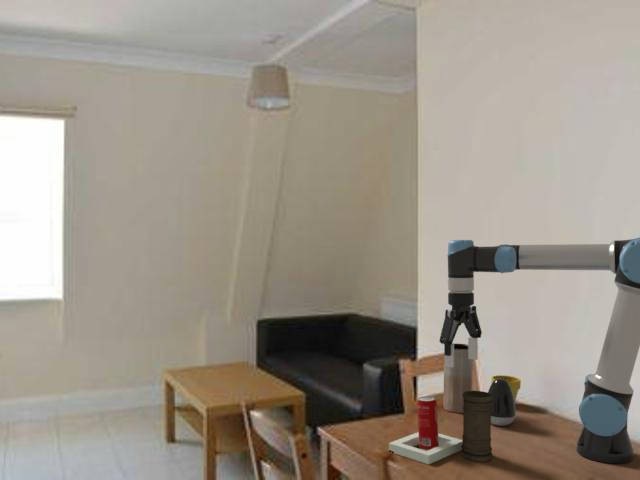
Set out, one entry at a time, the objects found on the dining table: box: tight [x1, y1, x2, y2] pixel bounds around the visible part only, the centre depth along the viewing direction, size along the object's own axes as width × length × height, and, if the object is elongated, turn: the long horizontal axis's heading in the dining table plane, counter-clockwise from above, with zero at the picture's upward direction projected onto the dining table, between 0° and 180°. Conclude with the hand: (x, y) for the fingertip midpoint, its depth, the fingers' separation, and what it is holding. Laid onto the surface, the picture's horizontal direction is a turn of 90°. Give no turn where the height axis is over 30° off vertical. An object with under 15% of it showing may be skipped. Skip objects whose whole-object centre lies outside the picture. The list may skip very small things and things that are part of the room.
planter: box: [442, 343, 474, 414], centre depth 237 cm, size 10×10×23 cm
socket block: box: [388, 431, 463, 465], centre depth 195 cm, size 14×18×3 cm
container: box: [460, 390, 493, 463], centre depth 190 cm, size 9×9×18 cm
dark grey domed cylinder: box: [487, 378, 517, 427], centre depth 221 cm, size 10×10×15 cm
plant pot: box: [490, 374, 521, 402], centre depth 244 cm, size 10×10×10 cm
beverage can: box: [416, 396, 440, 451], centre depth 196 cm, size 6×6×15 cm
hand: (461, 362), depth 198 cm, fingers open, 13 cm apart
